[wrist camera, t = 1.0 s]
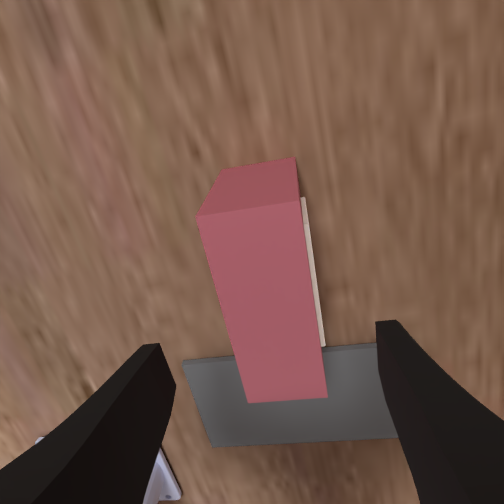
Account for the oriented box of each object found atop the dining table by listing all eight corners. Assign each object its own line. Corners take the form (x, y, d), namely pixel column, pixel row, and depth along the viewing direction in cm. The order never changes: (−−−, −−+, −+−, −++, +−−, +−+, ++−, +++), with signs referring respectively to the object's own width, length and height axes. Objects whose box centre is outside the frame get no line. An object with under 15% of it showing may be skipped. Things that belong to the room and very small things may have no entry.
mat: (213, 442, 27) (212, 447, 27) (183, 360, 24) (181, 364, 23) (414, 431, 25) (416, 437, 25) (414, 339, 21) (416, 343, 21)
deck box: (257, 318, 22) (248, 403, 16) (222, 169, 18) (195, 216, 12) (320, 311, 21) (332, 397, 16) (299, 155, 17) (305, 199, 12)
